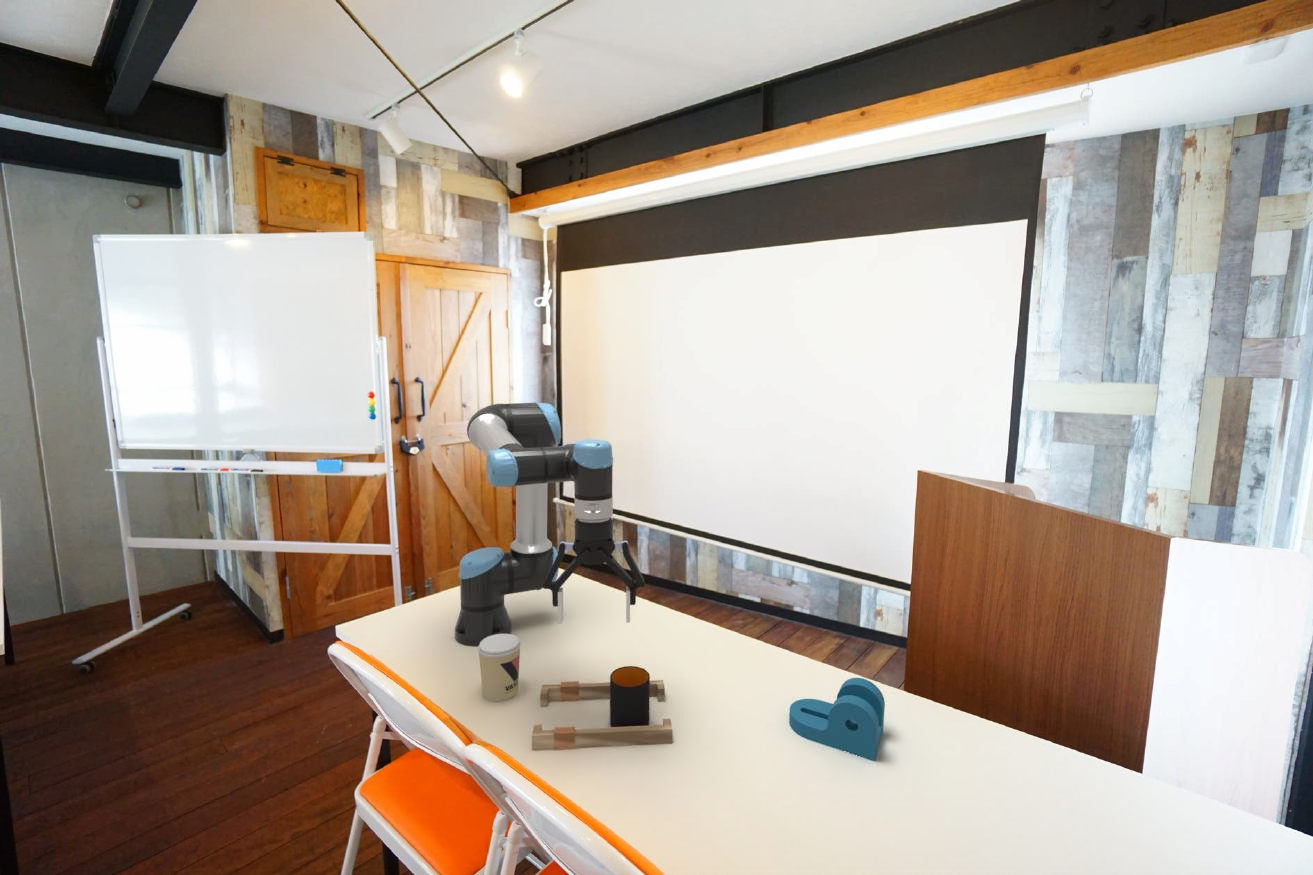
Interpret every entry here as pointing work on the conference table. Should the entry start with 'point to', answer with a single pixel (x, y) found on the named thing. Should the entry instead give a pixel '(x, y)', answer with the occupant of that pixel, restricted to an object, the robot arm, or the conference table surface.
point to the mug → (629, 697)
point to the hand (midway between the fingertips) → (594, 620)
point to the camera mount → (843, 719)
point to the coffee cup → (499, 666)
